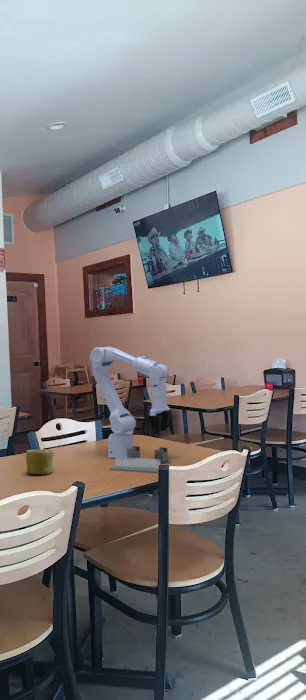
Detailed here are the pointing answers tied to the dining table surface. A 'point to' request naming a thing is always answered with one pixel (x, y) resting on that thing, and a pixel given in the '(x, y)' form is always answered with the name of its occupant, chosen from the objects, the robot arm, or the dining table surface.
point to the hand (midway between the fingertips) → (160, 432)
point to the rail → (137, 463)
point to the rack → (159, 454)
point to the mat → (134, 469)
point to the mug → (39, 461)
